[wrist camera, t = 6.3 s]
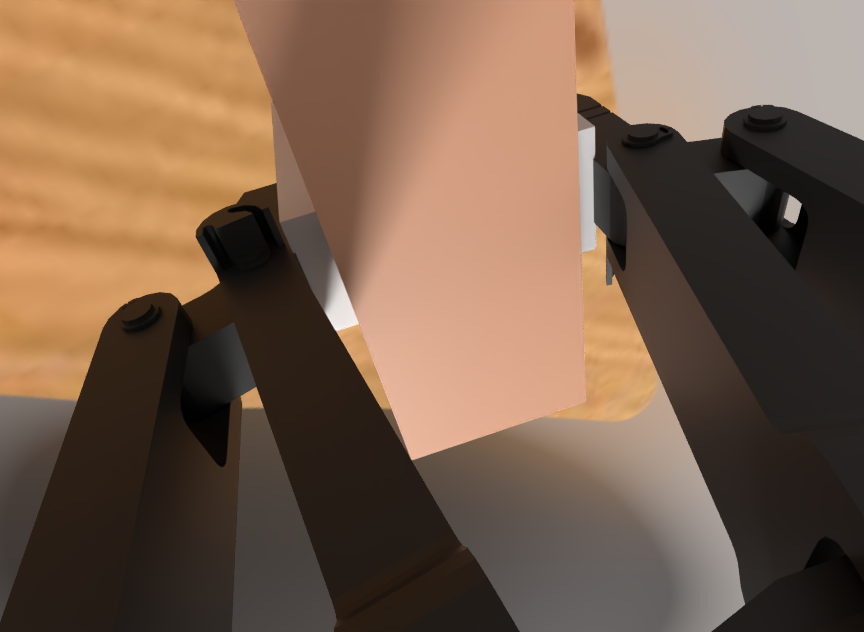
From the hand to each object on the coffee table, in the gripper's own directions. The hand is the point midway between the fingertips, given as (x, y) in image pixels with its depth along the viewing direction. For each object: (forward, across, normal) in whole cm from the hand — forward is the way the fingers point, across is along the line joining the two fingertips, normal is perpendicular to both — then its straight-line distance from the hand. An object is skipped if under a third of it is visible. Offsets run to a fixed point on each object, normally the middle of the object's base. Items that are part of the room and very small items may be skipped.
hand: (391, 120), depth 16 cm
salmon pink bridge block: (+1, 0, 0) cm, 1 cm away
